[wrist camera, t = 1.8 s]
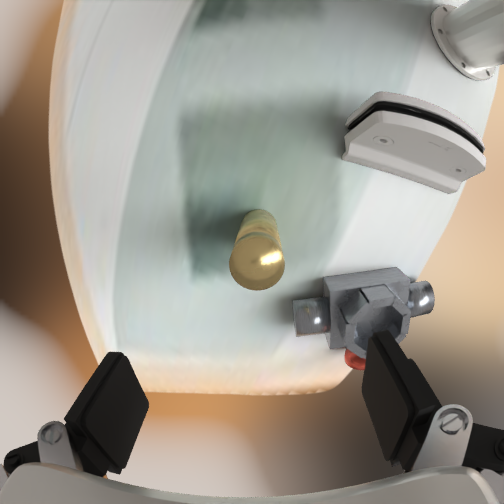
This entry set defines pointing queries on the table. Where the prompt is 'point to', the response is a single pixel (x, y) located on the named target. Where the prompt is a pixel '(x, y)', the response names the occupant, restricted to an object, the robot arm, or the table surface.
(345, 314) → the valve body
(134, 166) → the table surface
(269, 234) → the brass cylinder
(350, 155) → the white slotted block
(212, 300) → the table surface
